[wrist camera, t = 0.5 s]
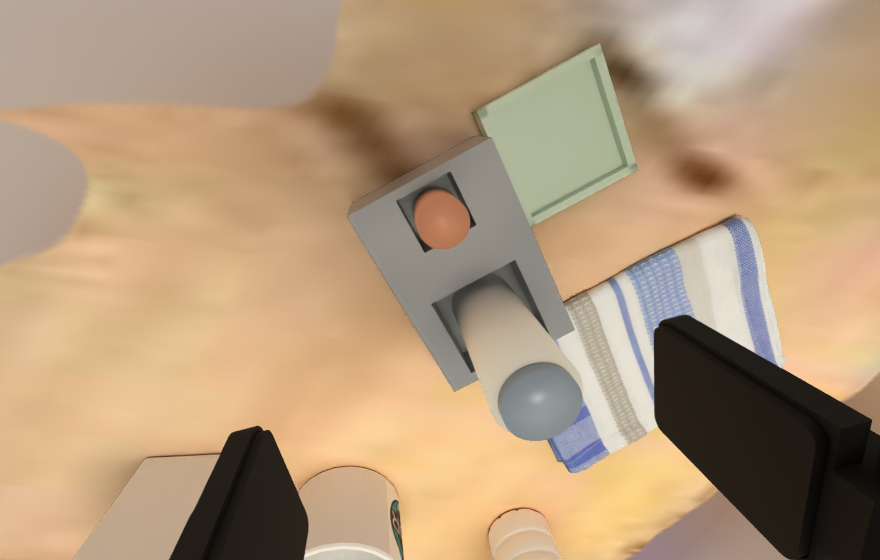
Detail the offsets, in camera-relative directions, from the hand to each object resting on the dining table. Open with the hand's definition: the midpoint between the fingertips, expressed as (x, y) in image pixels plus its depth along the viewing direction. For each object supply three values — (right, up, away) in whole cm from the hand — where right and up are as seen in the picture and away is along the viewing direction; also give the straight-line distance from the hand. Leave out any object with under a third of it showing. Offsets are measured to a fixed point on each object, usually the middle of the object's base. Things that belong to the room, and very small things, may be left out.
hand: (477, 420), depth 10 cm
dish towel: (+18, -3, +29) cm, 34 cm away
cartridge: (+2, +2, +22) cm, 22 cm away
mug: (-10, -20, +30) cm, 37 cm away
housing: (+1, +5, +22) cm, 23 cm away
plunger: (-1, +8, +17) cm, 18 cm away
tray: (+7, +14, +20) cm, 25 cm away
